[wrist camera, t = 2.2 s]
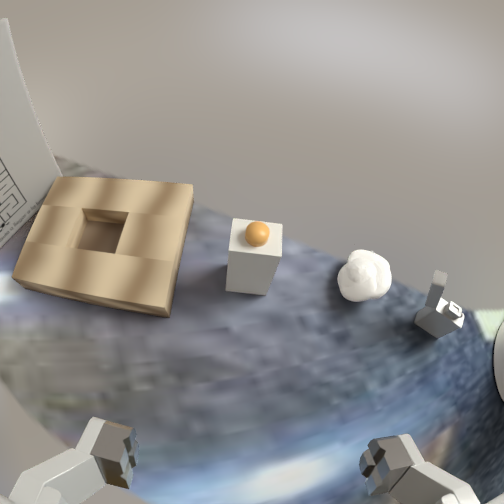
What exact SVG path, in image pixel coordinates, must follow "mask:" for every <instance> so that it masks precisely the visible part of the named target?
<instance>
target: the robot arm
mask: <svg viewBox="0 0 504 504" xmlns="http://www.w3.org/2000/svg"><path fill="white" fill-rule="evenodd" d="M494 371H495V378H496V383H497V387H498V390H499V393H500V395H501V398H502V399H503V401H504V321H503V323H502V325H501V326H500V328H499V331H498V333H497V337H496V341H495V348H494ZM135 438H136V430H135V428H131V427H128V426H124V425H120V424H117V423H113V422H110V421H106V420H103V419H99V418H96V417H92V418H91V419H90V420H89V422H88V424H87V426H86V428H85V430H84V432H83V434H82V436H81V438H80V440H79V442H78V444H77V446H76V448H75V449H73V448H70V449H68V450H67V451H65V452H63V453H61V454H59V455H57V456H55V457H53V458H51V459H49V460H47V461H45V462H43V463H40V464H38V465H36V466H35V467H32V468H30V469H28V470H26V471H23V472H22V473H21V475H20V477H19V479H18V481H17V482H16V484H15V486H14V488H13V490H12V492H11V494H10V496H9V498H6V497H5V496H3V495H1V494H0V504H81V503H82V502H83V501H85V500H86V499H88V498H89V497H90V496H91V495H93V494H94V493H96V492H97V491H98V490H100V489H101V488H102V487H103V486H105V485H106V483H107V484H110V485H114V486H118V487H122V488H126V489H130V485H131V482H132V478H133V472H132V468H133V467H135V466H136V464H137V461H138V455H139V445H138V442H137V441H136V440H135ZM368 447H369V449H368V450H366V451H365V452H363V454H362V456H361V457H360V463H359V466H360V471H361V474H362V475H363V476H365V477H366V478H367V479H366V481H365V485H366V488H367V491H368V494H369V496H372V495H377V494H382V493H387V492H389V494H390V495H391V496H393V497H394V498H395V499H396V500H397V501H398V502H400V503H401V504H480V502H479V500H478V499H477V497H476V495H475V493H474V492H473V490H472V488H471V486H470V485H469V484H468V483H466V482H464V481H462V480H460V479H458V478H456V477H455V476H453V475H451V474H449V473H447V472H446V471H444V470H442V469H440V468H439V467H437V466H435V465H433V464H432V463H430V462H425V461H424V459H423V457H422V455H421V454H420V452H419V450H418V448H417V446H416V445H415V443H414V441H413V439H412V438H411V436H410V435H409V434H402V435H397V436H389V437H383V438H377V439H373V440H371V441H370V442H369V444H368ZM486 504H504V493H502V494H501V495H499V496H497V497H496V498H494V499H492V500H491V501H489V502H487V503H486Z"/></svg>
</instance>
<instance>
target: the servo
mask: <svg viewBox="0 0 504 504" xmlns="http://www.w3.org/2000/svg"><path fill="white" fill-rule="evenodd" d="M281 257H282V224H276V223H268V222H261V221H253V220H244V219H236V218H233V222H232V230H231V237H230V245H229V254H228V266H227V280H226V291H231V292H240V293H249V294H258V295H266V294H267V292H268V289H269V287H270V284H271V282H272V279H273V277H274V274H275V272H276V269H277V267H278V264H279V262H280V259H281Z"/></svg>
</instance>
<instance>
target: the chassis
mask: <svg viewBox="0 0 504 504" xmlns="http://www.w3.org/2000/svg"><path fill="white" fill-rule="evenodd" d="M193 203H194V198H193V185H192V184H181V183H169V182H158V181H144V180H143V181H142V180H129V179H111V178H90V177H57V178H56V180H55V181H54V183H53V185H52V187H51V189H50V191H49V193H48V194H47V196H46V198H45V200H44V202H43V204H42V206H41V208H40V210H39V212H38V214H37V217H36V219H35V221H34V223H33V225H32V227H31V230H30V232H29V234H28V236H27V239H26V241H25V244H24V246H23V248H22V251H21V253H20V256H19V258H18V261H17V264H16V266H15V269H14V272H13V275H12V278H13V279H14V280H15V281H16V282H18V283H19V284H20V285H21V286H22V287H23V288H25V289H28V290H32V291H36V292H40V293H44V294H48V295H53V296H57V297H61V298H66V299H70V300H75V301H79V302H84V303H89V304H94V305H99V306H104V307H109V308H114V309H120V310H125V311H131V312H137V313H143V314H149V315H155V316H161V317H168V318H170V313H171V308H172V302H173V297H174V291H175V286H176V281H177V276H178V271H179V266H180V261H181V256H182V252H183V247H184V242H185V238H186V233H187V229H188V224H189V220H190V216H191V211H192V207H193Z"/></svg>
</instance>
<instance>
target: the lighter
mask: <svg viewBox="0 0 504 504" xmlns="http://www.w3.org/2000/svg"><path fill="white" fill-rule="evenodd" d="M446 279H447V273H444V272H441V271H438V270H435V273H434V277H433V280H432V283H431V287H430V290H429V293H428V297H427V300H426V303H425V306H426V307H424V308H423V309H421V310H420V311H418V312H417V315H416V318H415V321H414V323H415V324H416V325H418V326H419V327H421V328H422V329H424V330H425V331H427V332H428V333H430V334H431V335H433V336H434V337H436V338H437V339H438V338H440V337H442V336H444V335H446V334H448V333H450V332H452V331H454V330H456V329H458V328H460V327H462V324H463V319H464V314H463V313H462V308H460V307H459V306H458V305H456V304H455V303H453V302H452V301H451V302H449V303H447V302H446V301H445V300H443V299H442V298H441V295H442V293H443V290H444V287H445V283H446Z"/></svg>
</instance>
